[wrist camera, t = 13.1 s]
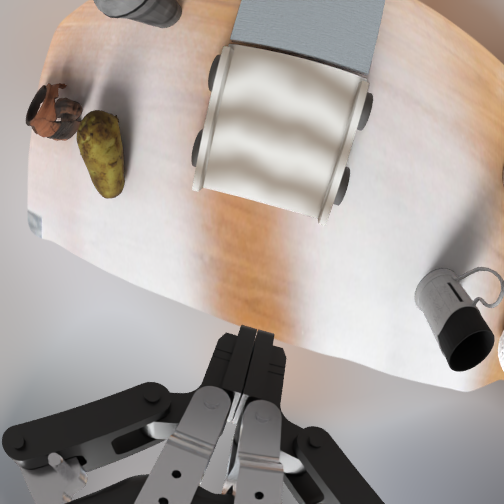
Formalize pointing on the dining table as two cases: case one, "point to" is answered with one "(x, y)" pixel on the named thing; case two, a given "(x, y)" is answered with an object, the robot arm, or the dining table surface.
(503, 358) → the cauliflower
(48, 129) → the brown curved piece
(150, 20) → the beverage cup
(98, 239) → the dining table surface
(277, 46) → the panel
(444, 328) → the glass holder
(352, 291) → the dining table surface
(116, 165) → the potato
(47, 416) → the robot arm
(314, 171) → the flatbed cart
